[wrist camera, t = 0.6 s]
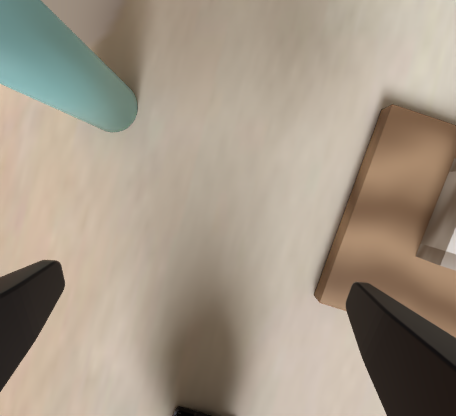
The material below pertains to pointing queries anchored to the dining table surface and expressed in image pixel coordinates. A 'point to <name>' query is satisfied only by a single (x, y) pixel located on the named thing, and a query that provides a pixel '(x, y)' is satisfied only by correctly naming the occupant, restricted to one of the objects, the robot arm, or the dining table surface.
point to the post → (60, 67)
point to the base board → (401, 220)
